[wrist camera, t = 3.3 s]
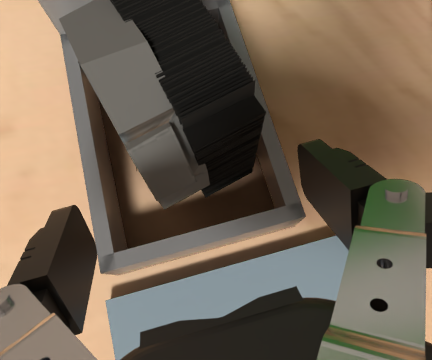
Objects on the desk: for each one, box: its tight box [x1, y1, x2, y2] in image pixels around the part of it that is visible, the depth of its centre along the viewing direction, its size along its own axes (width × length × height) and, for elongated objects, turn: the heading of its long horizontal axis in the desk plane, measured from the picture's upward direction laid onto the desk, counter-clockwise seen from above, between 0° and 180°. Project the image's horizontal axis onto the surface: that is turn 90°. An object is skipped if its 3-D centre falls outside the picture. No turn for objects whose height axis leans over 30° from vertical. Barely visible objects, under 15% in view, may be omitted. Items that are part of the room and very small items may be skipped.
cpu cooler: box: [59, 0, 266, 209], centre depth 18 cm, size 10×6×10 cm, turn 29°
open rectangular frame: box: [38, 0, 306, 275], centre depth 16 cm, size 11×16×14 cm
